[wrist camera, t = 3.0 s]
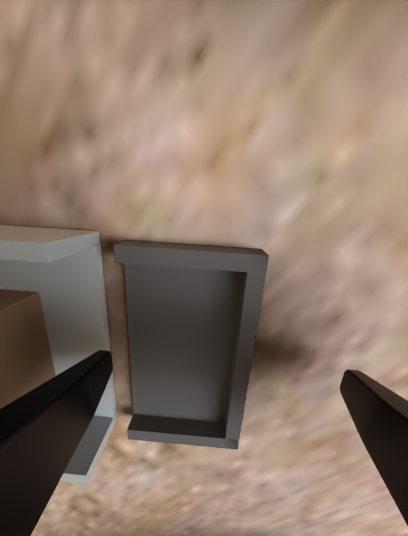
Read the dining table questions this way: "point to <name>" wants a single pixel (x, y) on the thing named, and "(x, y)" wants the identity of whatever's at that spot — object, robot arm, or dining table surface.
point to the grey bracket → (66, 313)
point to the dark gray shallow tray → (190, 338)
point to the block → (22, 345)
